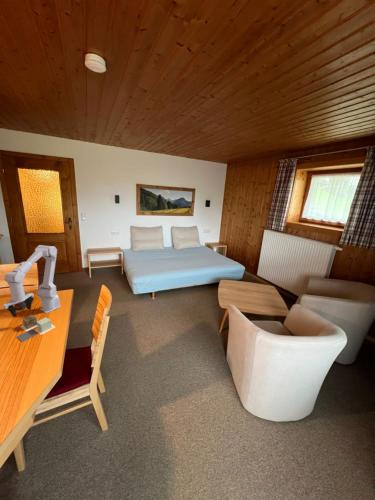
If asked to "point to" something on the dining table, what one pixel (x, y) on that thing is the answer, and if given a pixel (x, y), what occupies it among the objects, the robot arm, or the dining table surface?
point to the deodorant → (20, 306)
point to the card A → (26, 328)
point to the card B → (44, 331)
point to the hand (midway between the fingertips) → (22, 312)
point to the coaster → (26, 335)
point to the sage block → (44, 324)
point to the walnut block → (30, 321)
